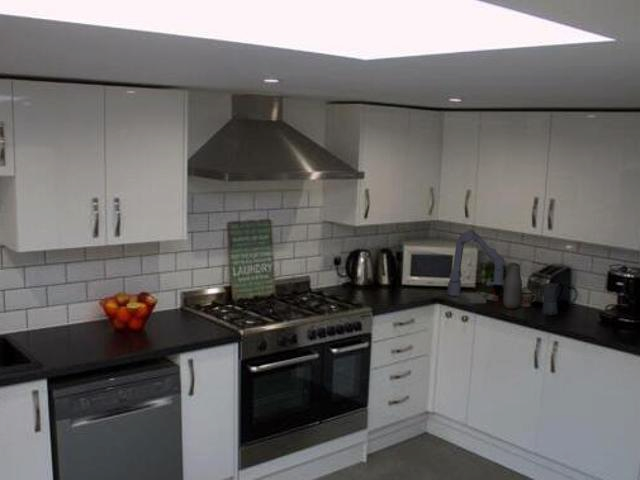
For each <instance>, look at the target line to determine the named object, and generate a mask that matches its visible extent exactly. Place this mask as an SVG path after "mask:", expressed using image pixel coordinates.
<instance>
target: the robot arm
mask: <svg viewBox="0 0 640 480" xmlns="http://www.w3.org/2000/svg"><path fill="white" fill-rule="evenodd" d="M475 231H476V230H474V229H468V230H466V231H464V232H463V233H462V234H461V235H460V236H459V237H458V238H457V239H456V245H455V252H454V259H453V266H452V270H451V273H450V274H449V281H448V283H447V291H446V294H447V295H449V296H451V297H453V296H454V297H455V296H460V297H461V287H462V286H461V285H462V280H461V278H462V275H463V274H462V268H461V266H462V260H463V253H464V247H465V246H464V245H465V244H467V242H471V241H472V242H473V243H477V244H478V245H479V246H480V247H481V248H482V249H483V250H484V251H485V255H486V256H487V257H488V258H489V259H490V260H491V261H492V262H493V264H494V270H493V272H494V273H493V281H488V282H486V286H487V287H490V286H492V287H493V291H494V295H497V296H498V298H499V297H500V294H501V291H502V290H504V270H505V269H504V264H505V262H506V261H505V259H504V257H503V256H502V255H501V254H499V253H498V252H497V250H496V248H493V247H490V246H489V245H488V244H487V243H486V242H485V240H484V239H483V238H482V236H480V235H479V234H478V233H477V232H475Z"/></svg>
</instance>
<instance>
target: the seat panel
mask: <svg viewBox="0 0 640 480" xmlns="http://www.w3.org/2000/svg"><path fill="white" fill-rule="evenodd" d="M460 294H461V296H460V297H461V298H462V299H464V300H465V301H466V302H469V303H470V304H486V303H487V299H485V298H484V297H482V296H480V295H479V294H477V292H460Z"/></svg>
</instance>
